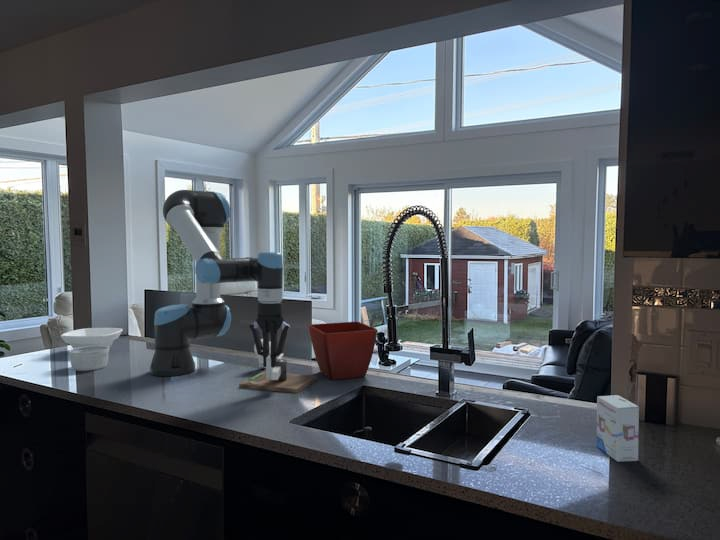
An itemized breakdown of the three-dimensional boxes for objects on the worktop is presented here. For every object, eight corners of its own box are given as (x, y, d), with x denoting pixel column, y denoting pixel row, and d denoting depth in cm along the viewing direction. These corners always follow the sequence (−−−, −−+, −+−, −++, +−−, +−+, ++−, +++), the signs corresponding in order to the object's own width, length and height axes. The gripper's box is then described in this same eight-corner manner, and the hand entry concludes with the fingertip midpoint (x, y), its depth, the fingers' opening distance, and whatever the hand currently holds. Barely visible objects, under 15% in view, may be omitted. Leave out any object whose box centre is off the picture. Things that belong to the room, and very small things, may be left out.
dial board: (238, 387, 162) (238, 383, 162) (263, 374, 178) (263, 370, 178) (296, 393, 156) (296, 388, 156) (317, 379, 172) (316, 374, 172)
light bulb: (274, 366, 189) (274, 337, 188) (269, 371, 182) (269, 340, 182) (257, 366, 190) (257, 337, 189) (251, 370, 183) (251, 340, 182)
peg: (275, 372, 175) (274, 353, 175) (289, 372, 175) (289, 353, 175) (266, 387, 157) (266, 366, 156) (282, 387, 157) (282, 366, 156)
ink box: (594, 446, 115) (595, 394, 115) (615, 445, 116) (617, 394, 115) (616, 462, 107) (618, 406, 106) (639, 461, 107) (641, 406, 107)
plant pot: (324, 384, 166) (324, 332, 165) (308, 370, 184) (308, 324, 183) (378, 378, 173) (378, 329, 172) (357, 366, 191) (357, 321, 190)
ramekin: (60, 370, 184) (60, 351, 184) (92, 362, 196) (91, 344, 196) (87, 373, 179) (86, 354, 179) (117, 365, 191) (117, 347, 191)
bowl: (105, 357, 204) (104, 336, 204) (53, 357, 204) (53, 336, 204) (129, 347, 225) (128, 327, 224) (82, 346, 225) (82, 327, 225)
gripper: (245, 302, 155) (245, 379, 156) (286, 303, 153) (286, 381, 154) (254, 300, 162) (254, 373, 164) (293, 301, 161) (293, 375, 162)
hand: (269, 377), depth 159 cm, fingers closed
